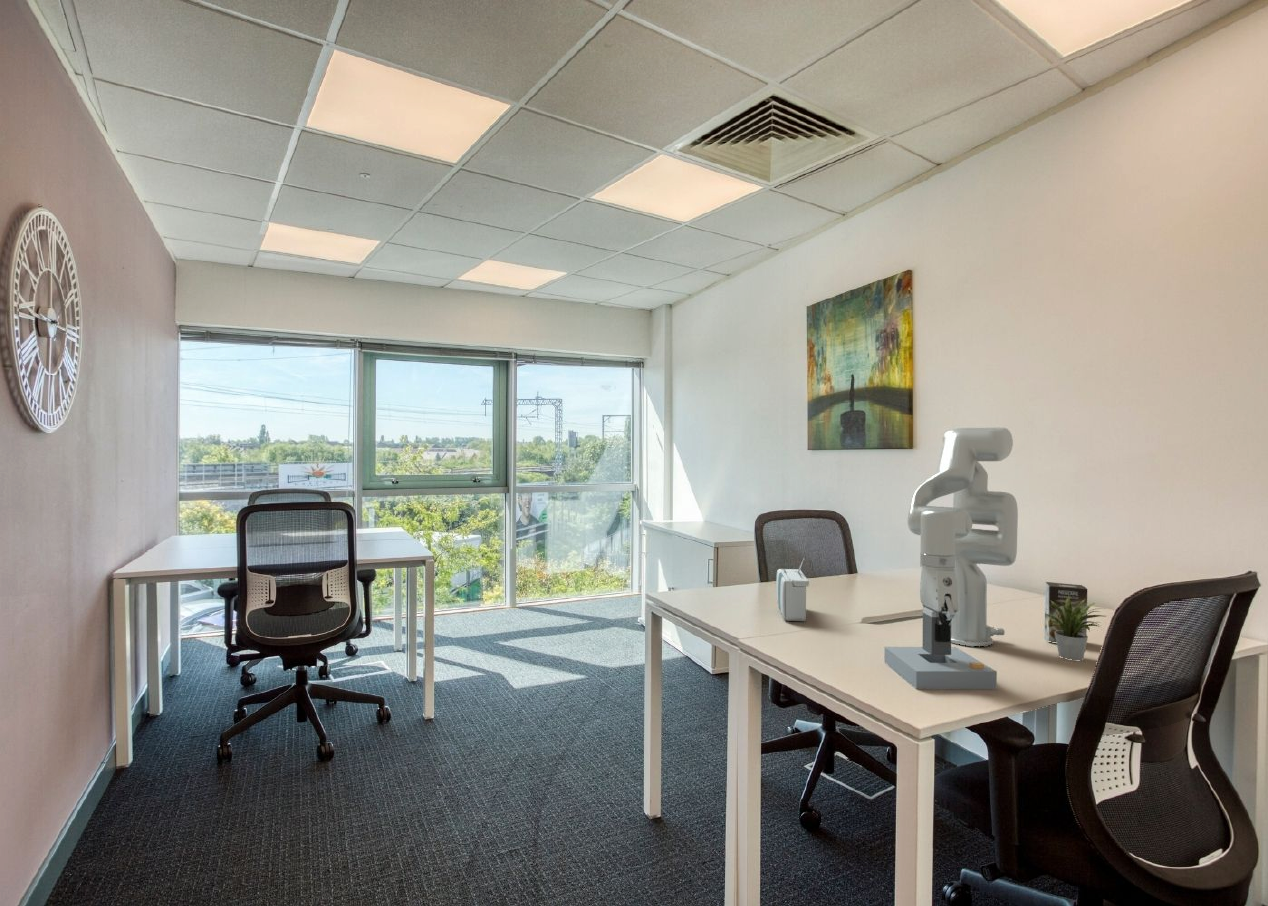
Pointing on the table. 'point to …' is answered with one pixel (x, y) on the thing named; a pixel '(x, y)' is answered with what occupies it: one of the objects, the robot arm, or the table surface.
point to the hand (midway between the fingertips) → (937, 637)
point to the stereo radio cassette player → (792, 593)
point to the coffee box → (1061, 594)
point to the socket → (940, 669)
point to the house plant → (1072, 629)
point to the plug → (933, 634)
